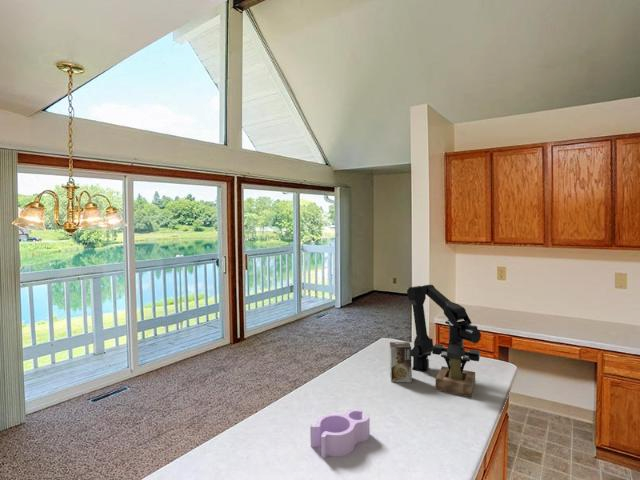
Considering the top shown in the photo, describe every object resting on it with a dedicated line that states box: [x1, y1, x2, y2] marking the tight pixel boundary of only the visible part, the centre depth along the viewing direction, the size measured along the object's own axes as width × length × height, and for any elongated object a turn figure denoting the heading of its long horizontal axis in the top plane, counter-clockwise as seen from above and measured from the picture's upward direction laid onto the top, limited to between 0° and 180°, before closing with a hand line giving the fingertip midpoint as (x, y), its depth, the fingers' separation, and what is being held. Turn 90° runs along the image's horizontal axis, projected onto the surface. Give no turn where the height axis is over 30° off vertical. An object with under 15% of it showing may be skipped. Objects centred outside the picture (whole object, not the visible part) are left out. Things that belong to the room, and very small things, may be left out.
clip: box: [309, 408, 371, 459], centre depth 121 cm, size 20×12×7 cm, turn 123°
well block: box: [434, 365, 476, 398], centre depth 159 cm, size 14×14×5 cm
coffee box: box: [389, 341, 413, 383], centre depth 166 cm, size 9×6×16 cm
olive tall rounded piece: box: [449, 357, 463, 380], centre depth 158 cm, size 6×6×11 cm
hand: (455, 371), depth 159 cm, fingers closed on olive tall rounded piece, 4 cm apart
